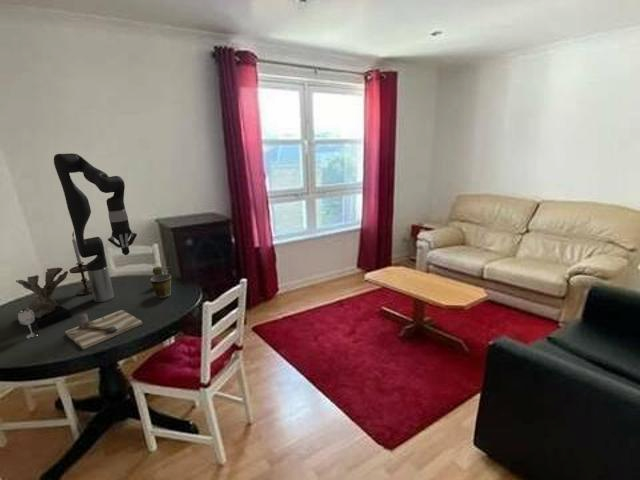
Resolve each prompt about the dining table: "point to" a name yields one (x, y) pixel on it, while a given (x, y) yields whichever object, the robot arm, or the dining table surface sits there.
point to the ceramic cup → (162, 285)
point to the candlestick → (80, 270)
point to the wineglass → (27, 319)
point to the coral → (46, 299)
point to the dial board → (93, 336)
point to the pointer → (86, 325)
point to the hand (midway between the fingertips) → (126, 254)
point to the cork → (157, 271)
